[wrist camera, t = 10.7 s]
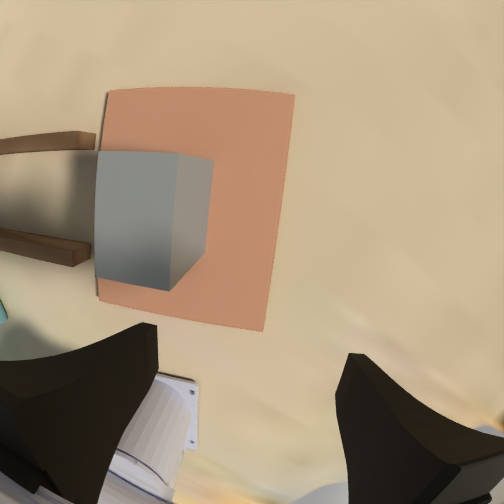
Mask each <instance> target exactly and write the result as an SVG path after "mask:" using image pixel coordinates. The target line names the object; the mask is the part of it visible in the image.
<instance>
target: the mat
mask: <svg viewBox="0 0 504 504" xmlns="http://www.w3.org/2000/svg"><path fill="white" fill-rule="evenodd" d="M294 99H295V95H293V94H285V93H277V92H268V91H258V90H246V89H232V88H210V87H157V88H136V89H122V90H110V91H109V94H108V100H107V106H106V112H105V119H104V126H103V134H102V142H101V151H134V152H162V153H179V154H185V155H190V156H195V157H200V158H204V159H209V160H214V168H213V177H212V186H211V195H210V205H209V215H208V226H207V237H206V249H205V253H204V255H203V256H202V257H201V258H200V259H199V260H198V261H197V262H196V263H195V264H194V265H193V266H192V268H191V269H190V270H189V271H188V272H187V273H186V274H185V275H184V276H183V277H182V278H181V280H180V281H179V282H178V283H177V284H176V285H175V286H174V287H173V288H172V289H171V291H170V292H169V291H164V290H158V289H153V288H148V287H142V286H137V285H132V284H127V283H122V282H117V281H112V280H108V279H103V278H98V277H97V278H98V295H99V301H102V302H107V303H111V304H115V305H119V306H124V307H128V308H132V309H137V310H142V311H146V312H151V313H156V314H161V315H166V316H171V317H176V318H181V319H186V320H192V321H197V322H203V323H209V324H215V325H221V326H227V327H233V328H240V329H246V330H253V331H260V332H263V328H264V322H265V315H266V309H267V302H268V296H269V289H270V282H271V275H272V268H273V262H274V255H275V248H276V240H277V233H278V226H279V219H280V211H281V204H282V196H283V189H284V181H285V173H286V165H287V157H288V149H289V141H290V133H291V125H292V116H293V107H294Z"/></svg>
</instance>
